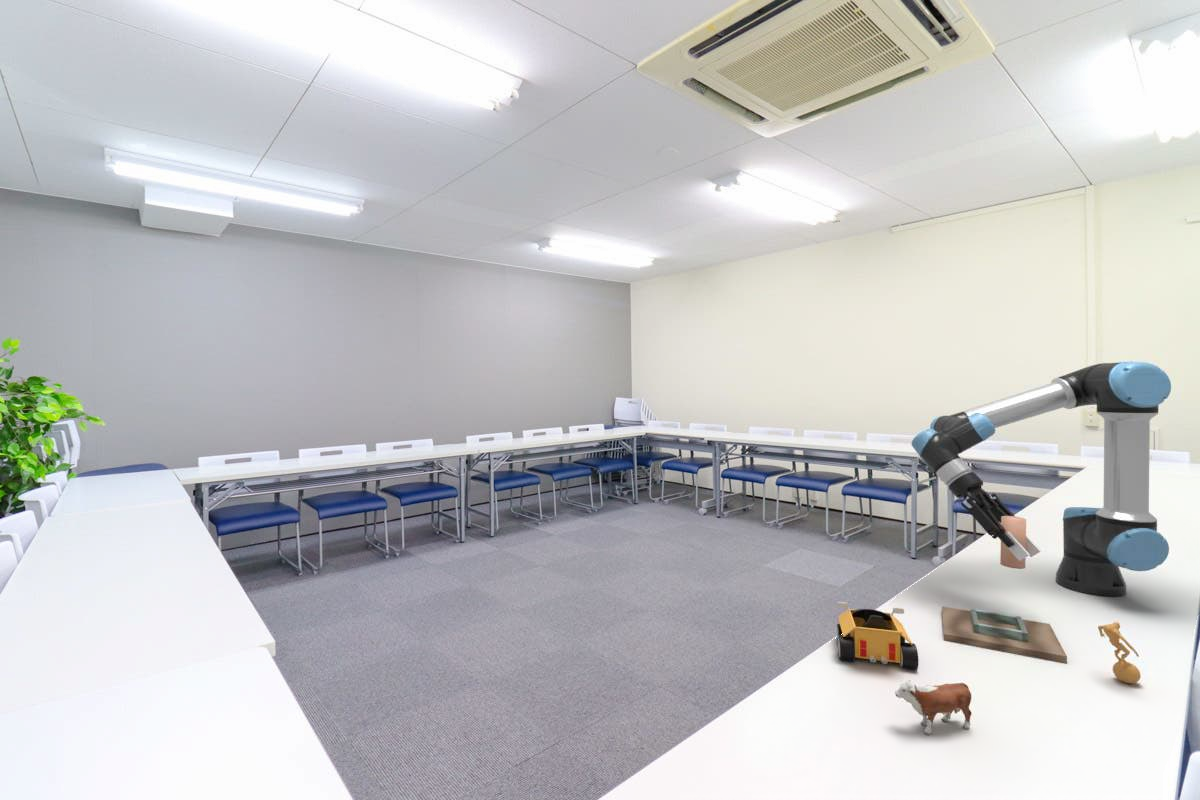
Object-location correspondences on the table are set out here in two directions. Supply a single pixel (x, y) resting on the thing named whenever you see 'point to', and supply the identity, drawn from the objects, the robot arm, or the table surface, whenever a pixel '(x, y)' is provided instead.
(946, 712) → the bull figurine
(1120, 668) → the figurine
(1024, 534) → the pink rounded cylinder
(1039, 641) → the jig board
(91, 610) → the table surface
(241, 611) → the table surface
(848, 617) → the race car
